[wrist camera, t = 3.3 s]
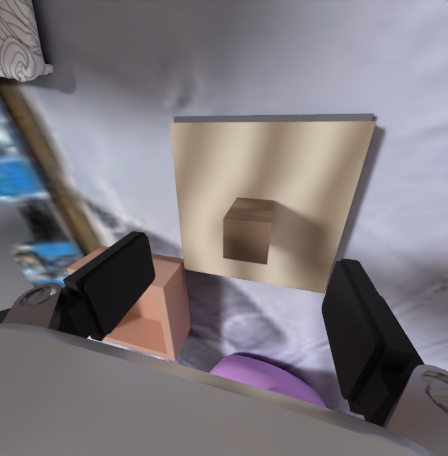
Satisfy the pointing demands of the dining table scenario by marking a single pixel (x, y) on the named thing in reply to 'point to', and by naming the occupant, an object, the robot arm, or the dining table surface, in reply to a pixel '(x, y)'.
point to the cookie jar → (20, 42)
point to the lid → (267, 196)
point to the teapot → (265, 378)
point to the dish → (154, 310)
